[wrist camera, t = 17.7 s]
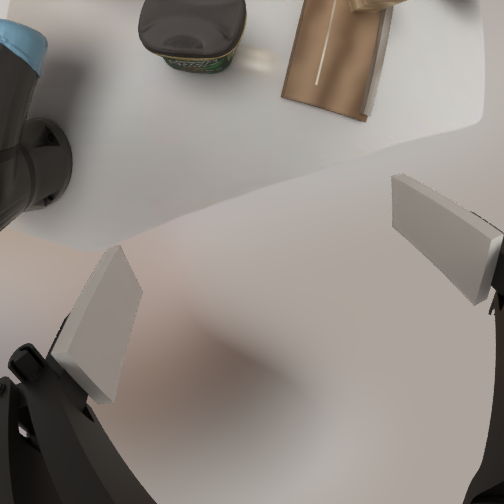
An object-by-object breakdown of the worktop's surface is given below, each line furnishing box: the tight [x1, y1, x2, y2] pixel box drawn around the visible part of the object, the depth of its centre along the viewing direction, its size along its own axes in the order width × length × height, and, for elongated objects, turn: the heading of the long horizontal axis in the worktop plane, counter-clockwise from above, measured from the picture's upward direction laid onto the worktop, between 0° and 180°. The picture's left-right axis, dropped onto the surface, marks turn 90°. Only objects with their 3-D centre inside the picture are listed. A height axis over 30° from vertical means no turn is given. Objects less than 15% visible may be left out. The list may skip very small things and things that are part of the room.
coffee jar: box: [138, 0, 247, 73], centre depth 24 cm, size 10×8×19 cm
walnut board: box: [281, 0, 394, 122], centre depth 31 cm, size 13×26×4 cm, turn 168°
